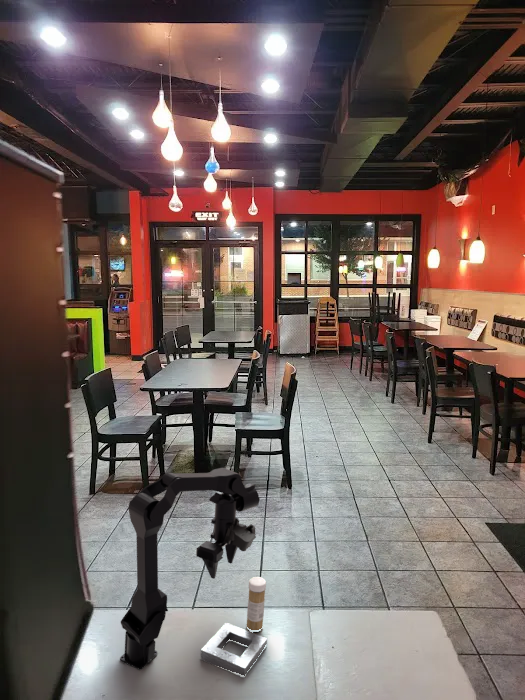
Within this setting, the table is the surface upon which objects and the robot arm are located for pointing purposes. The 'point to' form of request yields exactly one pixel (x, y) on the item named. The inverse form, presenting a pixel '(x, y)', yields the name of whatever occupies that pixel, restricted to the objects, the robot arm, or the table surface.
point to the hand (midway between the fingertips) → (221, 570)
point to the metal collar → (228, 660)
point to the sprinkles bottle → (256, 603)
